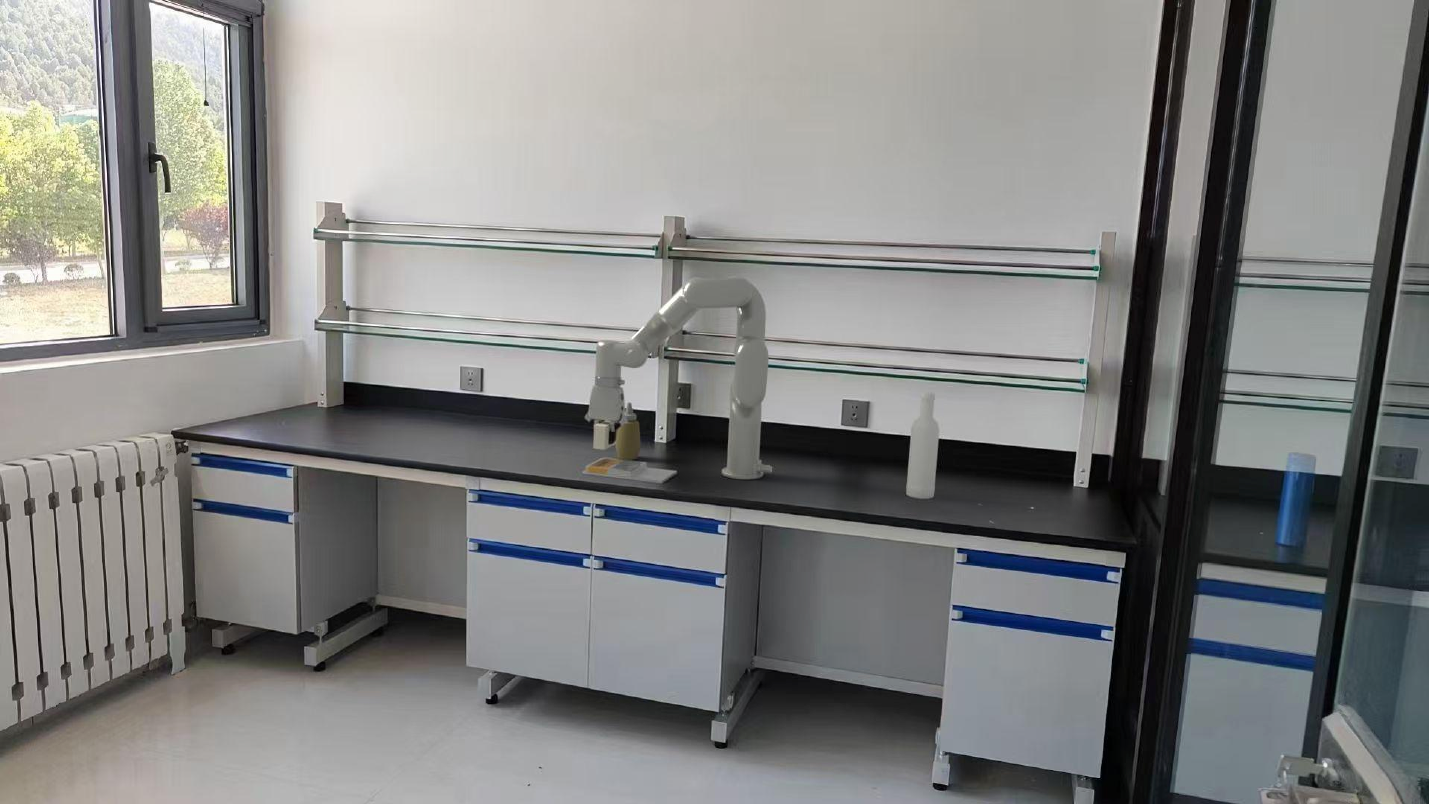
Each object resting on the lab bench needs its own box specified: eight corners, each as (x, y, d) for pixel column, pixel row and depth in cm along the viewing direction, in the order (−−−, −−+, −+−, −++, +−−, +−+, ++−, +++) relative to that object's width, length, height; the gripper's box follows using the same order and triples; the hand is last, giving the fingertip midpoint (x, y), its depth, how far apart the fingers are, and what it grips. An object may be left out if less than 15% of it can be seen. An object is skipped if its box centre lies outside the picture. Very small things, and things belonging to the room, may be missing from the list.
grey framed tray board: (676, 473, 288) (676, 465, 288) (661, 483, 276) (662, 475, 275) (600, 464, 295) (600, 456, 295) (582, 473, 283) (582, 465, 282)
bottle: (916, 500, 270) (924, 395, 265) (900, 492, 277) (908, 390, 272) (939, 498, 273) (948, 394, 268) (923, 491, 280) (931, 390, 275)
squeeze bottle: (636, 462, 300) (638, 405, 297) (611, 460, 301) (613, 403, 298) (643, 456, 308) (645, 401, 305) (619, 454, 309) (620, 399, 306)
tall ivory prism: (616, 444, 290) (617, 421, 289) (604, 449, 281) (605, 426, 280) (605, 442, 291) (606, 420, 290) (593, 448, 282) (594, 425, 281)
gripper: (638, 383, 284) (635, 443, 287) (587, 378, 289) (584, 437, 292) (628, 386, 277) (625, 448, 280) (576, 381, 282) (574, 441, 285)
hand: (605, 442), depth 286 cm, fingers closed on tall ivory prism, 3 cm apart
